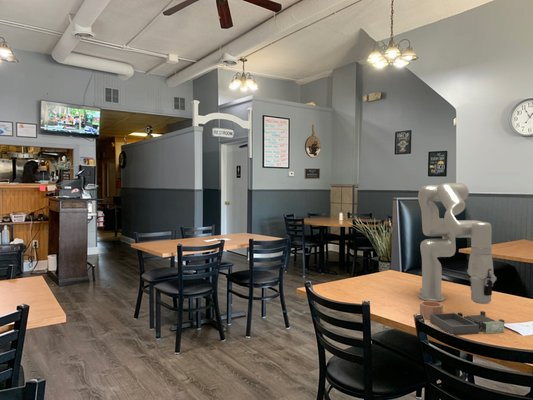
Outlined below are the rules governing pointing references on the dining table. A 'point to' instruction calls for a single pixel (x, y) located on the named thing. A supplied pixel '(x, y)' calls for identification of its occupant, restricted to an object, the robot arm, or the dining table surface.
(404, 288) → the dining table surface
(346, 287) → the dining table surface
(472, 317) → the cradle plate
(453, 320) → the dark grey tray
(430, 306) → the cup
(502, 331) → the cradle base
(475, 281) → the gray cylinder
